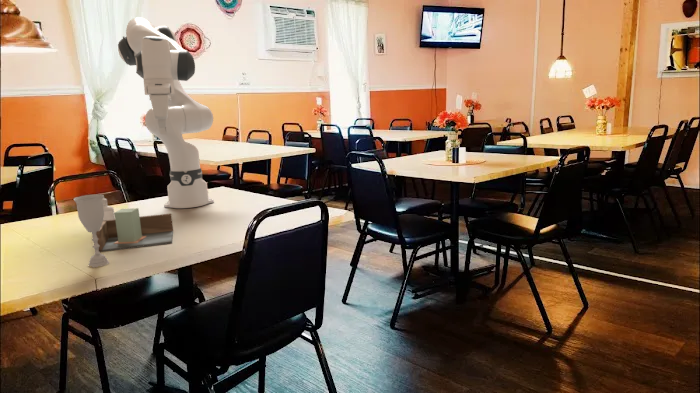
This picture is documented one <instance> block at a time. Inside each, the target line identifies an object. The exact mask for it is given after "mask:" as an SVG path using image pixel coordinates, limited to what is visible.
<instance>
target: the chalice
mask: <svg viewBox="0 0 700 393" xmlns="http://www.w3.org/2000/svg"><path fill="white" fill-rule="evenodd" d="M103 196H104V194H101V193H98V194H97V193H96V194H95V193H94V194H85V195H81V196H76V197H74V198H73V200H74V202H75V204H76V210H77V216H78V217H77V218H78V219H79V221H80V222H81V224H82V225H83V227H84V228H85V229H86V231H87V233H91V235H92V238H91V241H92V243H93V245H92V248H93V250H94V253H93V255H91V256H90V258H89V262H88V265H89V266H92V267H91V268H99V267H98V266H100V267H104V266H106V265H108V264H110V261H109V260H108V258H107V257H106V255H104V253H101V252H99V246H100V245H98V243H97V242H98V238H97V235H96V232H97V231H99V230H100V227H101V225H102V222H103V218H104V209H103V202H102V199H103ZM104 197H105V196H104ZM89 266H88V267H89Z"/></svg>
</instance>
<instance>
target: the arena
mask: <svg viewBox="0 0 700 393" xmlns="http://www.w3.org/2000/svg"><path fill="white" fill-rule="evenodd" d="M172 216H173V215H172V213H164V214H163V213H162V214H154V215H144V216H139V217H140V225H141V232H142V237H141V238H140V239H138V240H137V241H135V242H118V235H117V228H116V221H115V219H113V220H103V222H102V225H101V227H100V230H99V231H97V232H96V235H97V238H98V242H97V243H98V245H100V246H99V252H100V253H101V252H109V251H119V250H126V249H135V248H143V247H144V248H145V247H150V246H151V247H152V246H153V247H154V246H161V245H167V244H168V245H169V244H173V237H174V226H173V217H172Z"/></svg>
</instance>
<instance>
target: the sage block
mask: <svg viewBox="0 0 700 393" xmlns="http://www.w3.org/2000/svg"><path fill="white" fill-rule="evenodd" d="M114 215H115V221H116V228H117V235H118V242H135V241H137V240H138V239H140V238H141V237H142V232H141V225H140V217H141V216H140V212H139V208H138V207H137V208H135V207H133V208H121V209H119V210H117V211H114Z"/></svg>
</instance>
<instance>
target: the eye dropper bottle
mask: <svg viewBox="0 0 700 393" xmlns="http://www.w3.org/2000/svg"><path fill="white" fill-rule="evenodd" d="M102 202H103V209H104V218H103V220H113V219H115V214H114V213H115V209H114V207H113V206H111V205H108V198H105V196H103V199H102Z"/></svg>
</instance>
